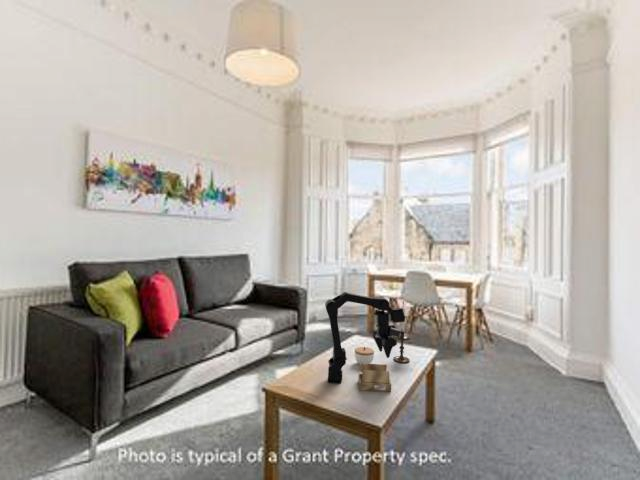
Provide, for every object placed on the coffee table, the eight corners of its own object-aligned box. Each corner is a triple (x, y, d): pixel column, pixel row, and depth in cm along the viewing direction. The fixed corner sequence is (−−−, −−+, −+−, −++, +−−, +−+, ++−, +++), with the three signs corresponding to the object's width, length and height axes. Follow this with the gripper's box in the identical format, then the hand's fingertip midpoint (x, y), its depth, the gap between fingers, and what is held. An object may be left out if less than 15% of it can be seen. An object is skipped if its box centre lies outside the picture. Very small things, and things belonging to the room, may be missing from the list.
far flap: (361, 363, 171) (361, 363, 171) (360, 372, 172) (360, 371, 173) (386, 365, 170) (386, 364, 170) (386, 373, 172) (386, 373, 172)
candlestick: (413, 364, 196) (415, 302, 195) (393, 363, 196) (395, 301, 195) (408, 357, 207) (410, 298, 206) (390, 356, 207) (392, 297, 206)
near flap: (362, 381, 161) (362, 381, 161) (362, 370, 163) (362, 370, 163) (389, 382, 161) (389, 383, 160) (389, 371, 162) (389, 371, 162)
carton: (359, 390, 161) (359, 383, 161) (358, 380, 173) (358, 373, 172) (391, 392, 161) (391, 384, 161) (388, 381, 172) (388, 374, 172)
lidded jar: (351, 365, 192) (351, 348, 192) (358, 359, 202) (359, 342, 202) (369, 369, 188) (370, 351, 187) (376, 362, 197) (376, 346, 197)
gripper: (406, 326, 165) (407, 359, 165) (391, 317, 183) (392, 346, 184) (384, 328, 163) (385, 362, 163) (370, 319, 181) (371, 349, 181)
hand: (384, 354), depth 173 cm, fingers open, 9 cm apart
